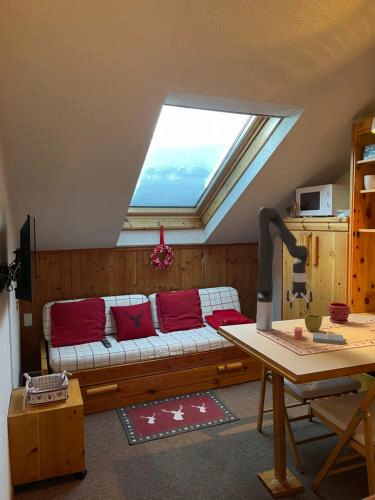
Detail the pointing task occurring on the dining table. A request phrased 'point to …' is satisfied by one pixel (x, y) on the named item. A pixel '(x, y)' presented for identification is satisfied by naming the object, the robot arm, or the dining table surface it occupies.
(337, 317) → the plant pot
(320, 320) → the flower pot
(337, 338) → the pin board
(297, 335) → the socket housing
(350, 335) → the dining table surface
